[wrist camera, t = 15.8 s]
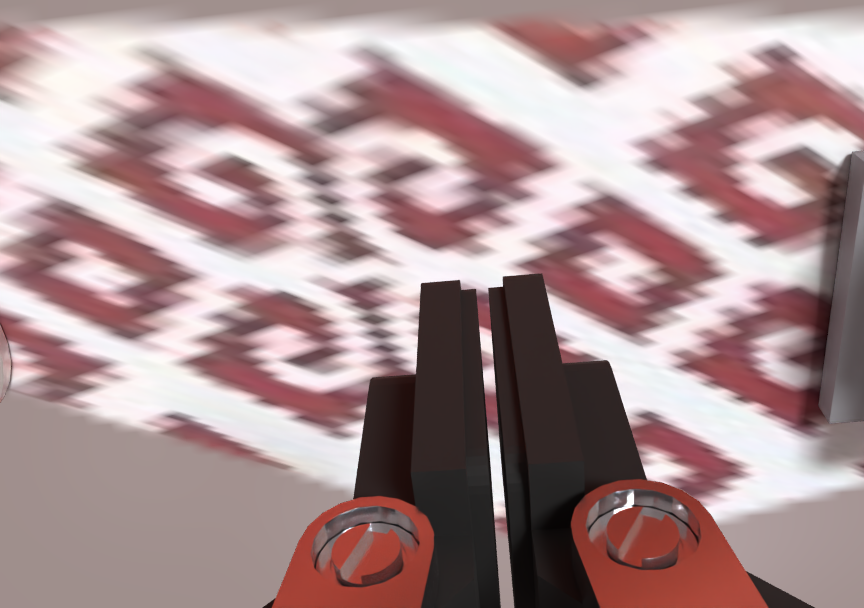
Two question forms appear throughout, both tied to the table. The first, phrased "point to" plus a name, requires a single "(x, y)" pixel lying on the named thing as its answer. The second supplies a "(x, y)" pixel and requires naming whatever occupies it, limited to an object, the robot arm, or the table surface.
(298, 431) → the table surface
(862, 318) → the rail board
